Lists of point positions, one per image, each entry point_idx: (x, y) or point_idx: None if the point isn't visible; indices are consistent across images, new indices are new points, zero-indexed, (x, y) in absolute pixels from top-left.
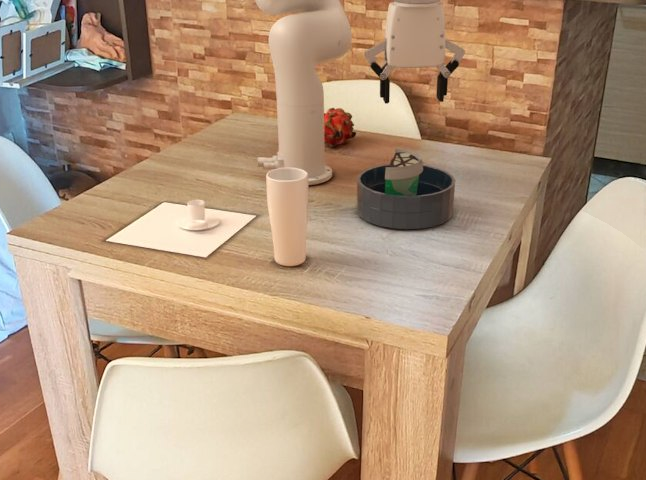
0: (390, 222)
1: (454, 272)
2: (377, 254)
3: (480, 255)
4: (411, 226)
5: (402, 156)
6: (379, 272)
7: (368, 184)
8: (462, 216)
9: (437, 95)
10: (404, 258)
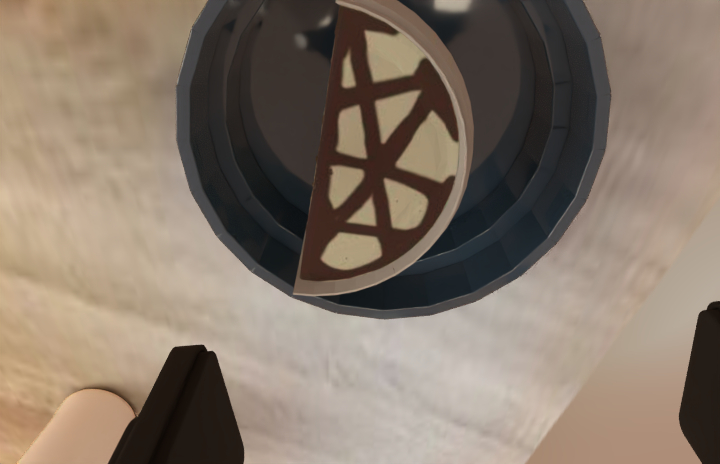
0: None
1: (475, 449)
2: (303, 380)
3: (557, 381)
4: None
5: (378, 69)
6: (311, 451)
7: (229, 14)
8: None
9: (708, 364)
10: (368, 397)
